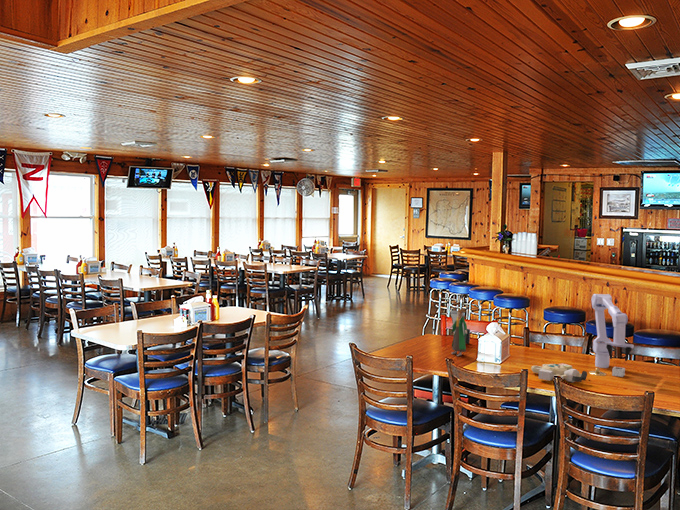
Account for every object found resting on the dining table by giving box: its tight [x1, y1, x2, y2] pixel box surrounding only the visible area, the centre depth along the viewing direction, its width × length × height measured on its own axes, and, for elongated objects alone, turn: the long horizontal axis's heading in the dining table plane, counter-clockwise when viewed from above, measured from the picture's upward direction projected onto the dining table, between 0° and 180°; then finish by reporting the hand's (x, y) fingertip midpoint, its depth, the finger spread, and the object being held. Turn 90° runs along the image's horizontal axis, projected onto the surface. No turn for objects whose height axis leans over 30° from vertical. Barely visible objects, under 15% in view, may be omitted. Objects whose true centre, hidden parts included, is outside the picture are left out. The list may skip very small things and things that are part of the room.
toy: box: [531, 362, 588, 383], centre depth 321 cm, size 25×8×30 cm
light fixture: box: [449, 310, 471, 345], centre depth 399 cm, size 11×17×24 cm, turn 152°
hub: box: [588, 367, 607, 377], centre depth 328 cm, size 9×9×4 cm
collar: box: [611, 366, 626, 378], centre depth 326 cm, size 5×5×4 cm
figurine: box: [449, 307, 468, 357], centre depth 370 cm, size 16×7×30 cm, turn 27°
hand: (618, 359), depth 324 cm, fingers open, 7 cm apart
